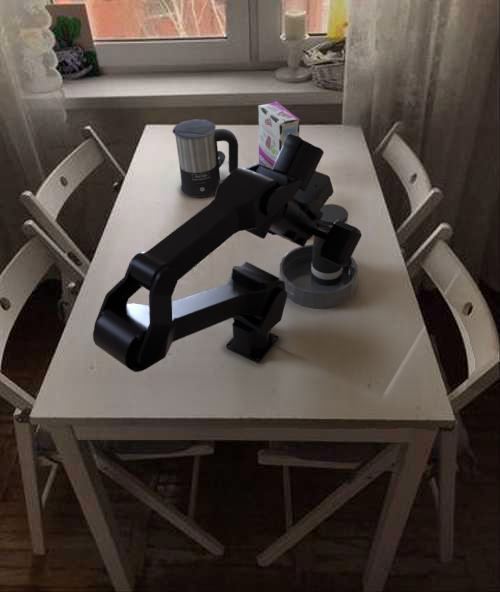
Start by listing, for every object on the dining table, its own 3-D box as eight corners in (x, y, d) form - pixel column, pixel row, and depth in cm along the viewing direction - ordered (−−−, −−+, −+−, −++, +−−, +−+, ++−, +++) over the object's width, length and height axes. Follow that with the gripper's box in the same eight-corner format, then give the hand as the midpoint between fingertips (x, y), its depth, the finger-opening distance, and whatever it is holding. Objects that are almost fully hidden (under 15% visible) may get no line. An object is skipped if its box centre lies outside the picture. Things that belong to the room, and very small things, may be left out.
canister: (333, 289, 103) (339, 226, 94) (305, 279, 105) (308, 216, 96) (346, 272, 106) (354, 209, 97) (319, 263, 109) (324, 200, 99)
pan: (334, 320, 97) (336, 303, 95) (265, 292, 103) (265, 275, 101) (368, 276, 106) (370, 259, 103) (302, 252, 112) (303, 236, 109)
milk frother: (189, 202, 127) (182, 141, 117) (163, 172, 137) (155, 113, 127) (246, 186, 132) (243, 125, 122) (216, 157, 142) (212, 100, 132)
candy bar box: (298, 187, 131) (301, 119, 120) (279, 192, 129) (280, 124, 118) (276, 165, 138) (277, 100, 127) (258, 170, 137) (256, 104, 126)
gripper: (361, 184, 79) (390, 215, 93) (258, 147, 88) (298, 180, 102) (326, 256, 80) (360, 277, 93) (227, 212, 89) (271, 236, 103)
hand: (321, 239), depth 98 cm, fingers open, 9 cm apart
